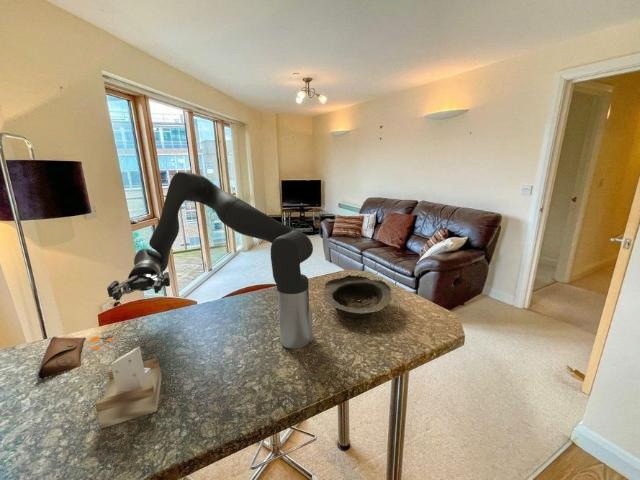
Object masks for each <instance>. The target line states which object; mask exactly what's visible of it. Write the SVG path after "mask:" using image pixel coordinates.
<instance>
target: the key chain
mask: <svg viewBox="0 0 640 480" xmlns="http://www.w3.org/2000/svg"><path fill="white" fill-rule="evenodd" d="M115 331H116V330H115V329H113V330H107V331H104V332H103V333H102V336H96V337H93V338H91V339H90V340H89V342H90V343H91V342H92V343H93V342H94V343H95V342H97V341H99V340H101V339H102V340H101V341H102V342H104V343H102V344H101V345H97V346H95V347H92V348H91V349H90V350H89V352H86V353H85V354H84V357H88V356H89V355H90V354H92V353H93V352H94V351H97V350H99V349H100V348H101V347H102V346H103V345H105V344H106V343H109V344H110V346H113V345H115V344H114V343H115V342H114V341H115V338H114V337H113V335H114V333H115ZM109 332H112V333H111V334H109V335H106V336H104V334H106V333H109Z"/></svg>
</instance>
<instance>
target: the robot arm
mask: <svg viewBox="0 0 640 480" xmlns="http://www.w3.org/2000/svg"><path fill="white" fill-rule="evenodd" d="M167 188H168V189H167V191H166V196H165V198H164V203H163V207H162V210H161V213H160V214H161V215H160V217H159V219H158V220H159V221H158V223H157V224H156V227H155V229H154V231H153V233H152V234H151V237H150V240H149V243H148V244H149V246H150V248H151V249H149V248H141V249H139V250H138V251H137V252H136V254H135V256H134V258H133V264H134V266H133V268H132V269H131V271H130V272H129V275H128V277H127V279H126V280H124V281H122V282H120V281H119V280H114V281H112V282H111V283H110V284H109V285H108V286H107V288H106V290H107V294H108V297H109V298H112V299H113V300H115V301H116V302H117V301H120V300H121V299H122V296H124V295H125V294H126V295H130V294H132V293H134V292H137V291H141V292H146V291H149V290H153V291H154V293H155V294H159V292H161V291H162V289H163V288H164V286H165V287H170V286H171V278H170V272H169V271H168V272H167V271H166V270H167V268H168V265H169V259H170V254H171V249H172V247H173V245H174V243H175V241H176V239H177V237H178V235H179V231H180V222H179V221H180V220H179V212H180V208H181V207H182V205H183V204H184V202H196V203H200V204H203V205H204V206H207V207H208V208H210V209H212V210H213V211H214V212H215V214H216V216H217V218H218V219H219V221H220V222H221V223H223V224H224V225H225V226H226V227H228V228H229V229H231V230H233V231H234V232H236V233H238V234H240V235H243V236H246V237H250V238H253V239H259V240H263V241H267V242H268V243H271V246H270V261H271V262H270V263H271V270H272V277H273V281H274V283H275V285H276V293H277V294H276V296H277V311H278V326H279V341H280V344H281V346H283V347H284V348H287V349H289V350H295V349H301V348H305V347H306V346H307V345H308V344H310V343H311V342H313V341H314V334H313V333H314V332H313V331H314V330H313V312H312V311H311V310H310V291H309V289H310V288H309V287H310V286H309V278H308V276H306V275H305V274H303V273H302V272H301V263H303V262H305V261H307V260H308V259H309V258H310V257H311V256H312V254H313V251H314V247H313V243H312V240H311V239H310V238H309V236H308V235H306V233H304V232H302V231H300V230H298V229H296V228H293V227H291V226H288V225H286V224H284V223H282V222H280V221H278V220H276V219H274V217H271V216H270V215H267V214H266V213H264V212H262V211H261V210H259V209H257V208H256V207H254V206H253V205H251V204H250V203H248V202H246V201H244V200H243V199H241V198H239V197H237V196H235V195H233V194H232V193H229V192H227V191H225V190H223V189H221V188H220V187H219V186H217V185H216V184H215V183H213V182H212V181H211V180H209V179H208V178H207V177H205V175H202V174H198V173H193V172H189V171H182V170H181V171H177V172H175V173H174V175H173V176H172V177H171V180H170V182H169V185H168V187H167ZM152 249H153V250H152ZM164 271H166V272H164ZM162 273H163V274H162Z"/></svg>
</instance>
